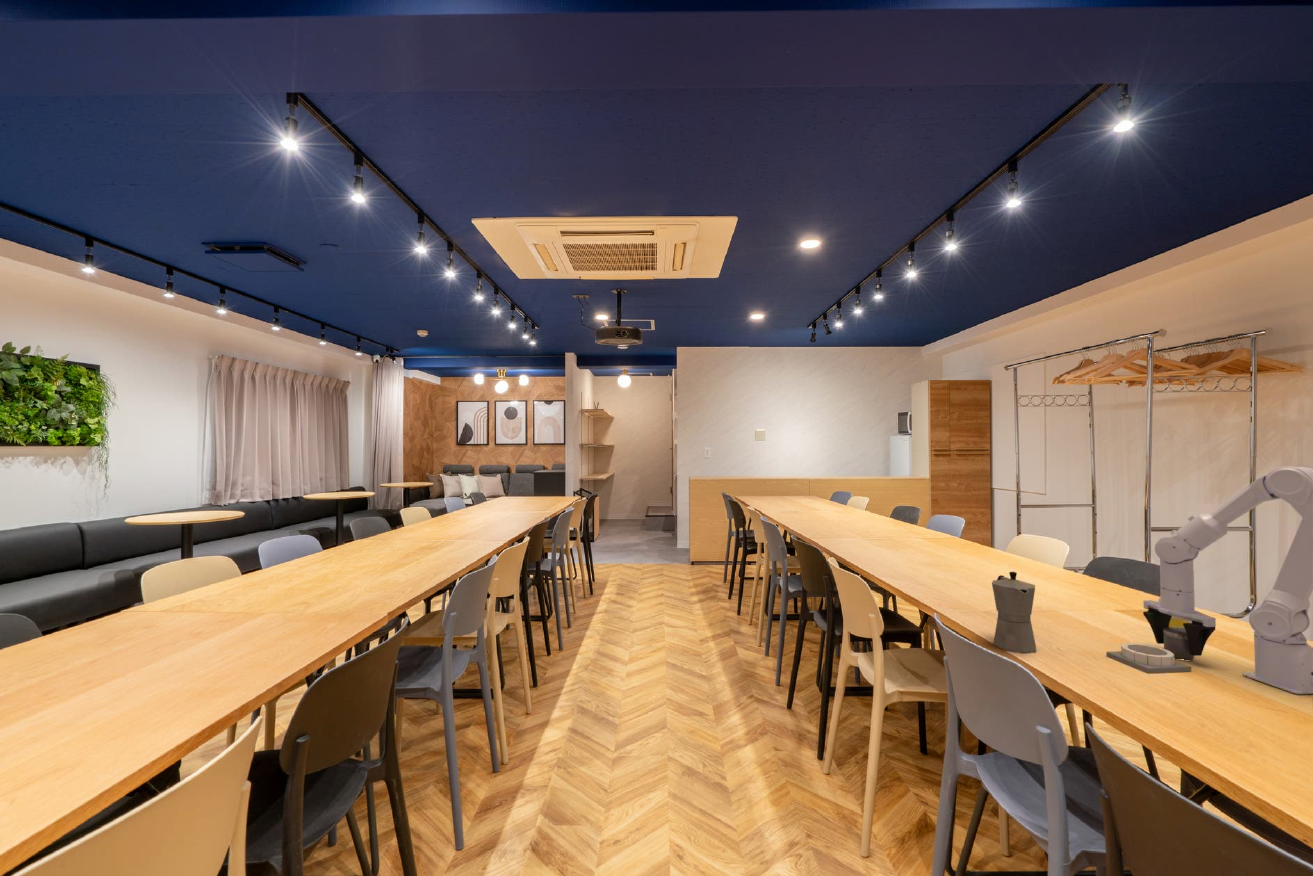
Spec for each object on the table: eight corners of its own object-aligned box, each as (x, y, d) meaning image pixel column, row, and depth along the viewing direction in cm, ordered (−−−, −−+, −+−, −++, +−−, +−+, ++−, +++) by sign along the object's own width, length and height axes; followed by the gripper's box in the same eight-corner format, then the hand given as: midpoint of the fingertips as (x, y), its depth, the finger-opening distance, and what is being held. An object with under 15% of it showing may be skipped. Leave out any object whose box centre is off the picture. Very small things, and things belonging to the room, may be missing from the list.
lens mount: (1191, 671, 119) (1191, 657, 119) (1148, 673, 118) (1148, 659, 118) (1146, 654, 129) (1146, 641, 129) (1106, 656, 128) (1106, 643, 128)
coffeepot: (1049, 658, 127) (1048, 578, 128) (1004, 655, 129) (1002, 577, 130) (1020, 636, 143) (1018, 565, 143) (979, 633, 144) (978, 563, 145)
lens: (1200, 660, 126) (1199, 633, 126) (1180, 661, 125) (1179, 634, 125) (1177, 652, 131) (1177, 626, 131) (1158, 653, 130) (1157, 627, 130)
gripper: (1131, 582, 135) (1132, 638, 135) (1194, 598, 121) (1195, 661, 120) (1158, 581, 136) (1159, 638, 135) (1223, 597, 121) (1225, 660, 121)
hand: (1178, 649), depth 128 cm, fingers open, 7 cm apart
